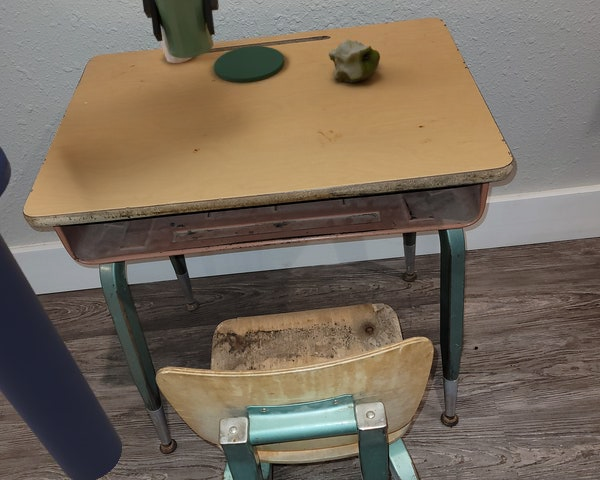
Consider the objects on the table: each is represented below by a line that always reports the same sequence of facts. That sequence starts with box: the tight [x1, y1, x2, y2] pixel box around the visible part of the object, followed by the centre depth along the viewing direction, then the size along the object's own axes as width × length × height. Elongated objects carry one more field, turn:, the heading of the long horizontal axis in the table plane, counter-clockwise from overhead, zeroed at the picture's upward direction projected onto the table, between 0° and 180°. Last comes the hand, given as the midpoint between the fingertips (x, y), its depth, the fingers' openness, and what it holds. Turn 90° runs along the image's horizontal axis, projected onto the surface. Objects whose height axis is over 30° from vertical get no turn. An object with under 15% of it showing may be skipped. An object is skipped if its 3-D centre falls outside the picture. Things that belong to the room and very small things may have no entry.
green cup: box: [155, 0, 214, 59], centre depth 92 cm, size 7×7×10 cm
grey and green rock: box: [328, 39, 381, 84], centre depth 110 cm, size 9×9×8 cm
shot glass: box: [159, 28, 193, 64], centre depth 122 cm, size 7×7×7 cm
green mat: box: [213, 45, 285, 83], centre depth 119 cm, size 14×14×1 cm
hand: (184, 34), depth 91 cm, fingers closed on green cup, 7 cm apart
